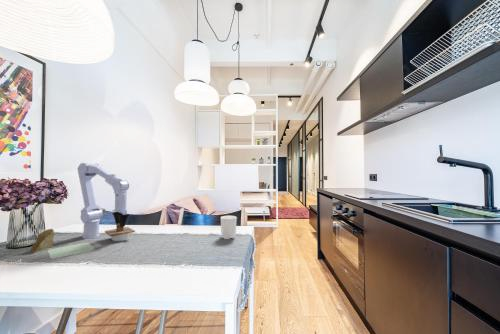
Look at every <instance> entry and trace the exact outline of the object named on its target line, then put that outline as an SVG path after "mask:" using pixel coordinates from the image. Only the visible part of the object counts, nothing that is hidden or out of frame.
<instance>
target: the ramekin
mask: <svg viewBox="0 0 500 334" xmlns="http://www.w3.org/2000/svg"><path fill="white" fill-rule="evenodd" d="M129 235H130V233H127V234H122V235H117V236H112V237H111V240H112V241H113V242H122V241H127V240H128V239H129Z"/></svg>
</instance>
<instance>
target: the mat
mask: <svg viewBox="0 0 500 334" xmlns="http://www.w3.org/2000/svg"><path fill="white" fill-rule="evenodd" d="M94 250H95V248H94V247H93V246H92V245H91V243H89V242H87V241H86V242H81V243H76V244H72V245H66V246H61V247H60V246H59V247H56V248H50V249H47V252H48V254H49V257H50V259H51V260H53V259H58V258H63V257H68V256H71V255H75V254H76V255H77V254H80V253H85V252H90V251H94Z"/></svg>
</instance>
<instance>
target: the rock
mask: <svg viewBox="0 0 500 334" xmlns="http://www.w3.org/2000/svg"><path fill="white" fill-rule="evenodd" d="M54 236H55V230H54V229H53V228H48V229H45V230H44V231H42V232H41V233H39V234H38V237H37V238H36V240H35V242H34V243H33V244H32V246H31V249H30V251H29V254H35V253H38V252H41V251H44V250H46V249H49V248H52V247H54Z"/></svg>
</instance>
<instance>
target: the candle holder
mask: <svg viewBox="0 0 500 334" xmlns="http://www.w3.org/2000/svg"><path fill="white" fill-rule="evenodd" d="M237 219H238V217H237V216H235V215H223V216H220V232H221V233H220V234H221V238H222V239H223V238H224V240H231V239H230V238H233V239H235V238H236V235H237V233H236V232H237V222H238V221H237ZM234 237H235V238H234Z"/></svg>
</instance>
